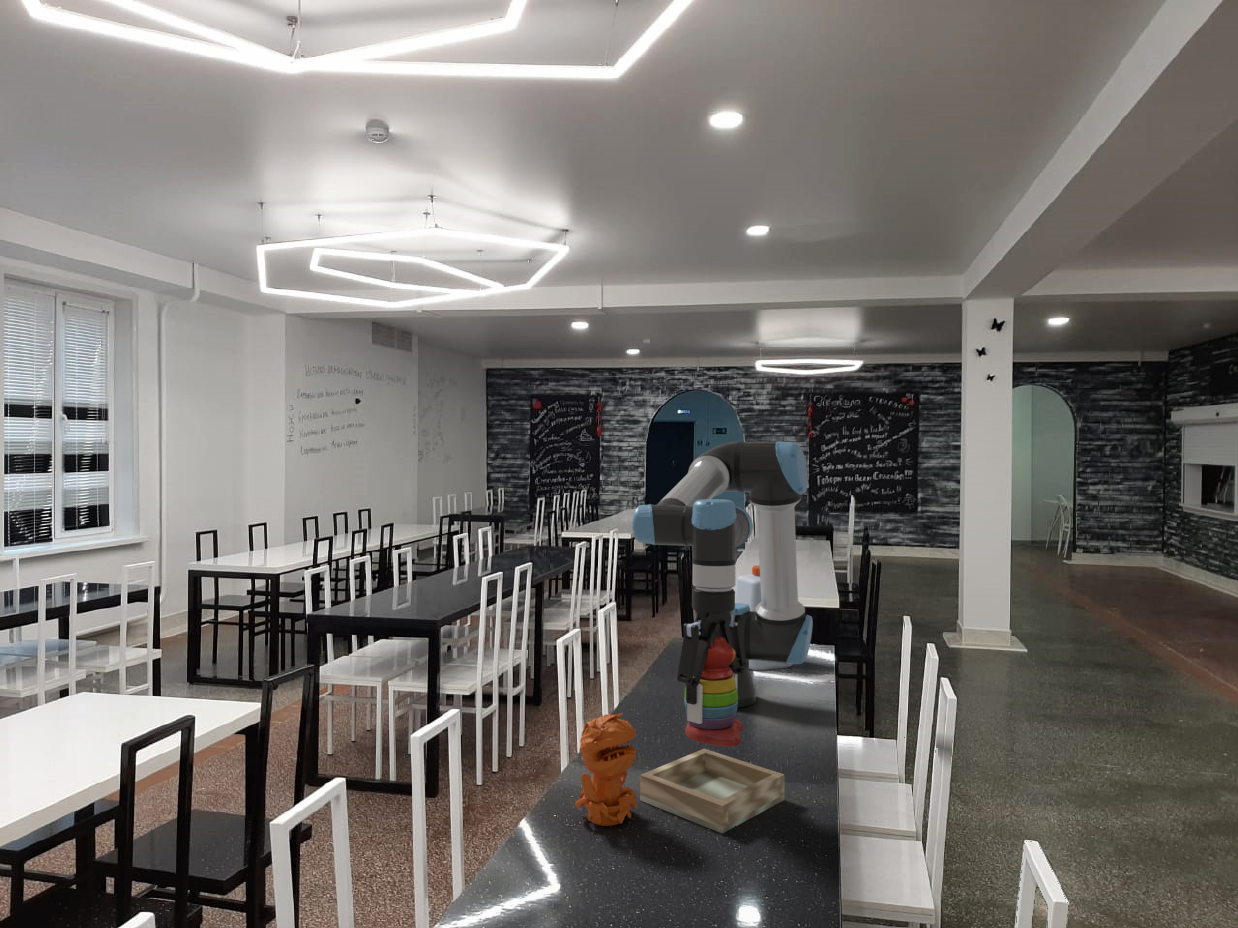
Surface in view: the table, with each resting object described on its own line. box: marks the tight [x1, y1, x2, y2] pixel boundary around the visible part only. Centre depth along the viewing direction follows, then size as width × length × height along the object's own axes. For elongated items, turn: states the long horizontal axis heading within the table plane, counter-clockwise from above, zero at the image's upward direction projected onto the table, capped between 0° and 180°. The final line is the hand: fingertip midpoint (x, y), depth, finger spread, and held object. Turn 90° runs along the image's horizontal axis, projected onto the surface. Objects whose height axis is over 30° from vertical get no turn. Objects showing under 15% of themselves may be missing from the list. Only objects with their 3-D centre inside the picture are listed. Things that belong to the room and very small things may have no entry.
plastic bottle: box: [735, 564, 793, 671], centre depth 239 cm, size 15×15×28 cm
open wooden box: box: [639, 748, 785, 834], centre depth 147 cm, size 18×18×4 cm
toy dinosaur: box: [574, 712, 638, 827], centre depth 139 cm, size 11×11×18 cm
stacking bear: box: [684, 637, 744, 747], centre depth 146 cm, size 11×10×18 cm
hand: (712, 715), depth 146 cm, fingers closed on stacking bear, 9 cm apart
